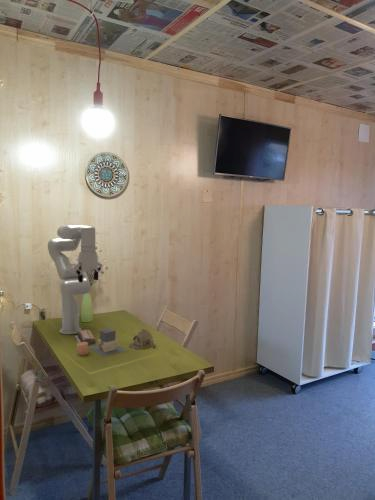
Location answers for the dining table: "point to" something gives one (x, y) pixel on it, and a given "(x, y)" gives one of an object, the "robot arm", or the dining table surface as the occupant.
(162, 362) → the dining table surface
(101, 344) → the birch block
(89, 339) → the packaged product
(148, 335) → the stuffed bread roll
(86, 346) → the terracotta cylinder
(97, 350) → the slate mat
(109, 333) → the charcoal block
